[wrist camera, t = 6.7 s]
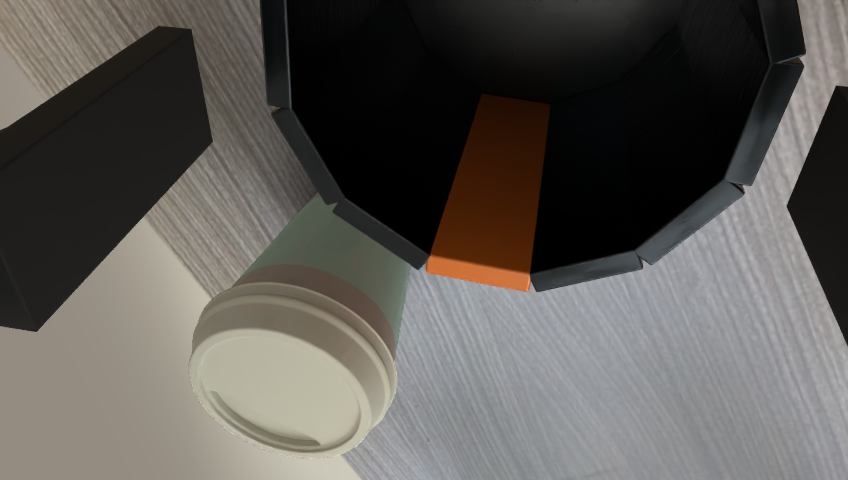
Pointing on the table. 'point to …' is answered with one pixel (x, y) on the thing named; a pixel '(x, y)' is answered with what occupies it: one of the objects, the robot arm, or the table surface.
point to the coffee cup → (304, 340)
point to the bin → (530, 123)
